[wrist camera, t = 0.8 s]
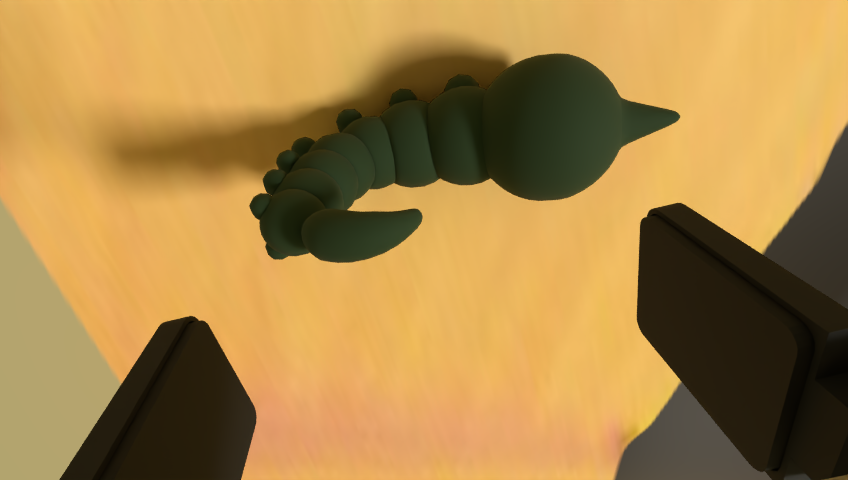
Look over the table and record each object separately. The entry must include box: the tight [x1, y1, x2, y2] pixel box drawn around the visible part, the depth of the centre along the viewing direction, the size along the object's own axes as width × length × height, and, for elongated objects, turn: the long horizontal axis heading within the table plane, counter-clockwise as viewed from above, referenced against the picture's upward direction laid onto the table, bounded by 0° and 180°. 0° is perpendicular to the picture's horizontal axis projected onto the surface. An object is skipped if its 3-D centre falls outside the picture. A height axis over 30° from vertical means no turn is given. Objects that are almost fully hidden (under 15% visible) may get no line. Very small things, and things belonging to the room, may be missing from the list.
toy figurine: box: [249, 54, 680, 263], centre depth 28 cm, size 9×19×25 cm
